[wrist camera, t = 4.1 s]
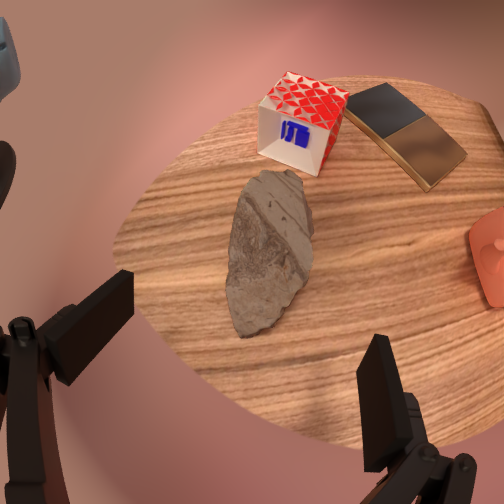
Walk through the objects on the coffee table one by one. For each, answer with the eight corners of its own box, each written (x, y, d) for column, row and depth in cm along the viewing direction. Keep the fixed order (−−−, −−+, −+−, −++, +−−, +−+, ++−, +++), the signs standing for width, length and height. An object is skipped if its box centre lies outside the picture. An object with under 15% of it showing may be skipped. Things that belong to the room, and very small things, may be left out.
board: (334, 107, 40) (336, 100, 39) (384, 87, 43) (387, 81, 42) (426, 193, 35) (430, 187, 33) (464, 158, 38) (468, 153, 36)
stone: (265, 185, 35) (199, 179, 27) (333, 164, 29) (278, 147, 22) (287, 313, 35) (227, 342, 27) (358, 311, 30) (312, 348, 22)
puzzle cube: (336, 137, 38) (350, 92, 31) (317, 177, 35) (330, 130, 28) (282, 116, 39) (286, 70, 32) (256, 153, 37) (257, 104, 29)
